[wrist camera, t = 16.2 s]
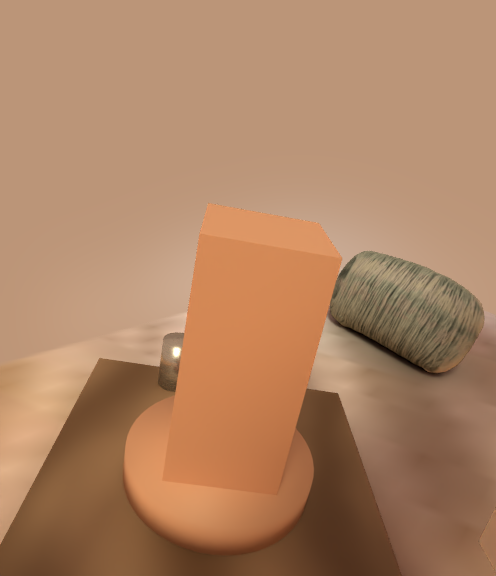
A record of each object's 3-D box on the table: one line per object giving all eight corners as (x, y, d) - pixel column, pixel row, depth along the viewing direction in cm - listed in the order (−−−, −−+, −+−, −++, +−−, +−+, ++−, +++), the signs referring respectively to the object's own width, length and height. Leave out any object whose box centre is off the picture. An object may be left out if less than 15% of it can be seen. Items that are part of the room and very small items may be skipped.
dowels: (281, 389, 30) (291, 350, 29) (284, 407, 29) (294, 366, 28) (160, 371, 30) (165, 330, 29) (155, 389, 28) (161, 346, 27)
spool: (296, 287, 44) (370, 207, 42) (338, 313, 51) (404, 246, 49) (395, 395, 35) (494, 301, 33) (429, 409, 43) (512, 332, 41)
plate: (332, 411, 32) (337, 393, 31) (416, 680, 17) (429, 655, 16) (97, 377, 30) (99, 358, 30) (-33, 639, 16) (-35, 611, 15)
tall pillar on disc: (295, 424, 27) (351, 220, 23) (320, 567, 19) (418, 289, 14) (142, 403, 26) (168, 186, 22) (98, 542, 18) (126, 240, 14)
